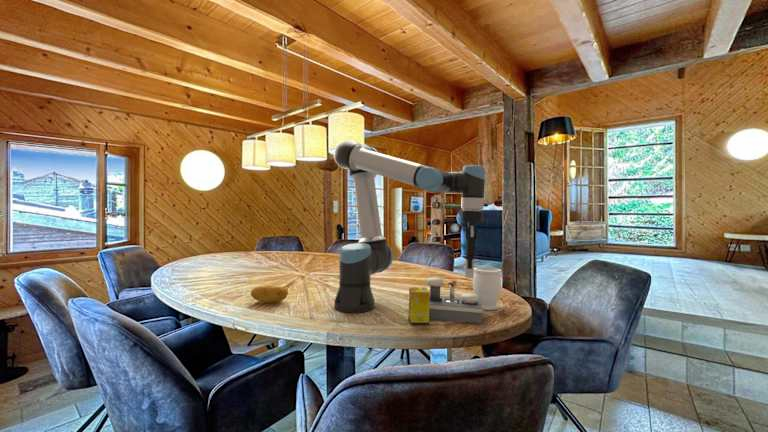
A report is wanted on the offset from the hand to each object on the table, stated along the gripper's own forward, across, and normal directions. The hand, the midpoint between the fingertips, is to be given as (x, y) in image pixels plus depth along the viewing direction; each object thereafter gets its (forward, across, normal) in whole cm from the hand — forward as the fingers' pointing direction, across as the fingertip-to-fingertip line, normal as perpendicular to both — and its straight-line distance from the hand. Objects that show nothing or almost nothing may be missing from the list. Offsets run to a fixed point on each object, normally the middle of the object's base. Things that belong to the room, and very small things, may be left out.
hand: (469, 277), depth 116 cm
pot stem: (+14, 0, +5) cm, 15 cm away
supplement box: (+14, -10, +16) cm, 24 cm away
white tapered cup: (+14, +13, -8) cm, 21 cm away
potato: (+15, -4, +74) cm, 76 cm away
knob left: (+9, 0, +11) cm, 14 cm away
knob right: (+13, 0, -1) cm, 13 cm away
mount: (+14, 0, +5) cm, 15 cm away
